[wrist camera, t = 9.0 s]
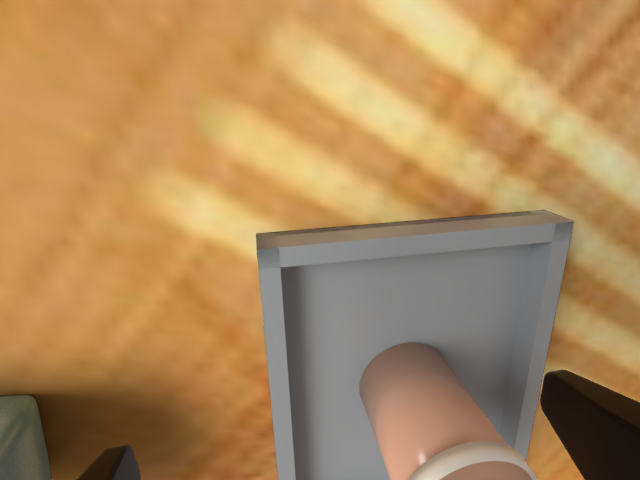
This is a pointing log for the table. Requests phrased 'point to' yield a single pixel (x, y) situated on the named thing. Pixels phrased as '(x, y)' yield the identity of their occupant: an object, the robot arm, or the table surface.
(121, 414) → the table surface
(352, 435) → the tray
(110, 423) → the table surface
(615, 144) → the table surface
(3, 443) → the flower pot
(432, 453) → the cup
